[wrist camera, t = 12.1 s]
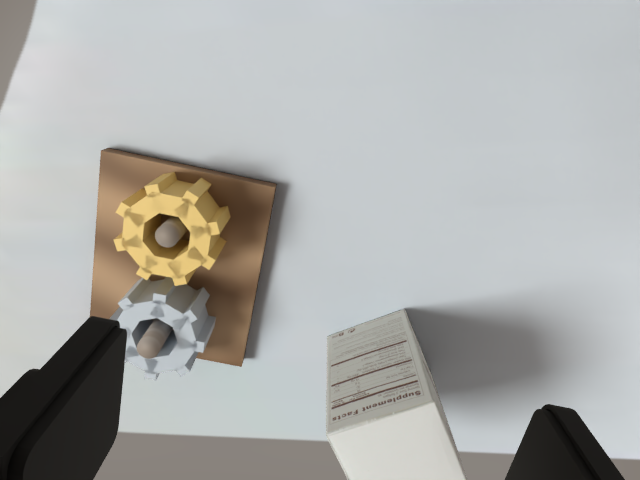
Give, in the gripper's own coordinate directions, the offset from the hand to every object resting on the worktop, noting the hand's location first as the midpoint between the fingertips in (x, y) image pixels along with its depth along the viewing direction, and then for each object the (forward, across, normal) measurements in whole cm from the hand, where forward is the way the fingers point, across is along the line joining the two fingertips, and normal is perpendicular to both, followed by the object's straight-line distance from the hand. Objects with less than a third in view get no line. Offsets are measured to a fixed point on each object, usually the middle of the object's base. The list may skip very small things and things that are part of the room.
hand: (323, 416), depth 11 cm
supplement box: (+29, -8, +15) cm, 33 cm away
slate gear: (+27, +10, +14) cm, 32 cm away
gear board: (+28, +10, +10) cm, 32 cm away
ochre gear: (+27, +10, +6) cm, 30 cm away
